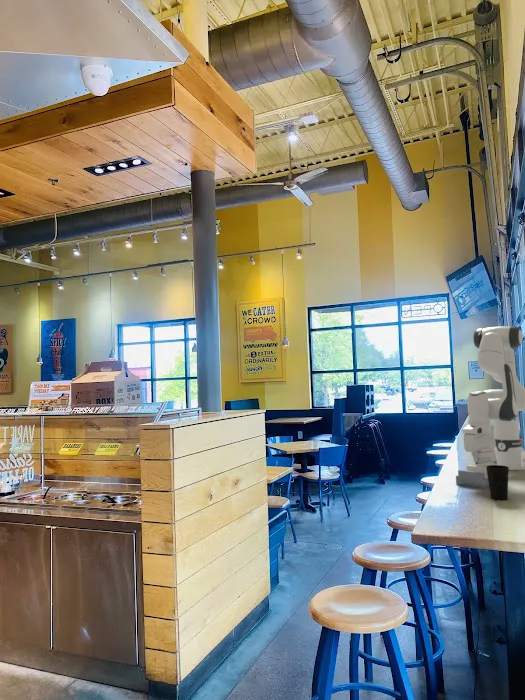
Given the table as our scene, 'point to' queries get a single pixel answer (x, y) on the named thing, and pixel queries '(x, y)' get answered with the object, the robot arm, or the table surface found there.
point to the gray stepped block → (472, 479)
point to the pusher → (478, 470)
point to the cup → (498, 481)
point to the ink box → (486, 457)
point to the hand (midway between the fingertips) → (481, 460)
